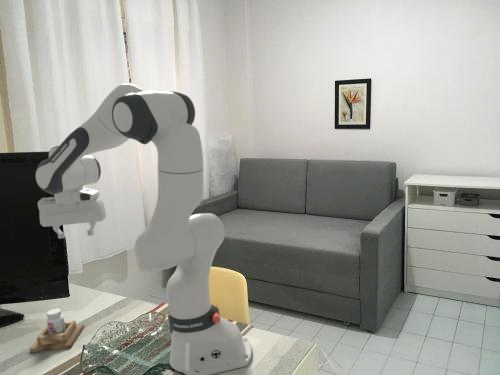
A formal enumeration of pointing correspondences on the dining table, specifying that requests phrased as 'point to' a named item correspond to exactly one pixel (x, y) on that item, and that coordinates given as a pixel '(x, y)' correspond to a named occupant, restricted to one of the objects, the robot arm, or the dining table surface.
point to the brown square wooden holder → (57, 338)
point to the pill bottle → (55, 322)
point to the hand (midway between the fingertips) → (76, 236)
